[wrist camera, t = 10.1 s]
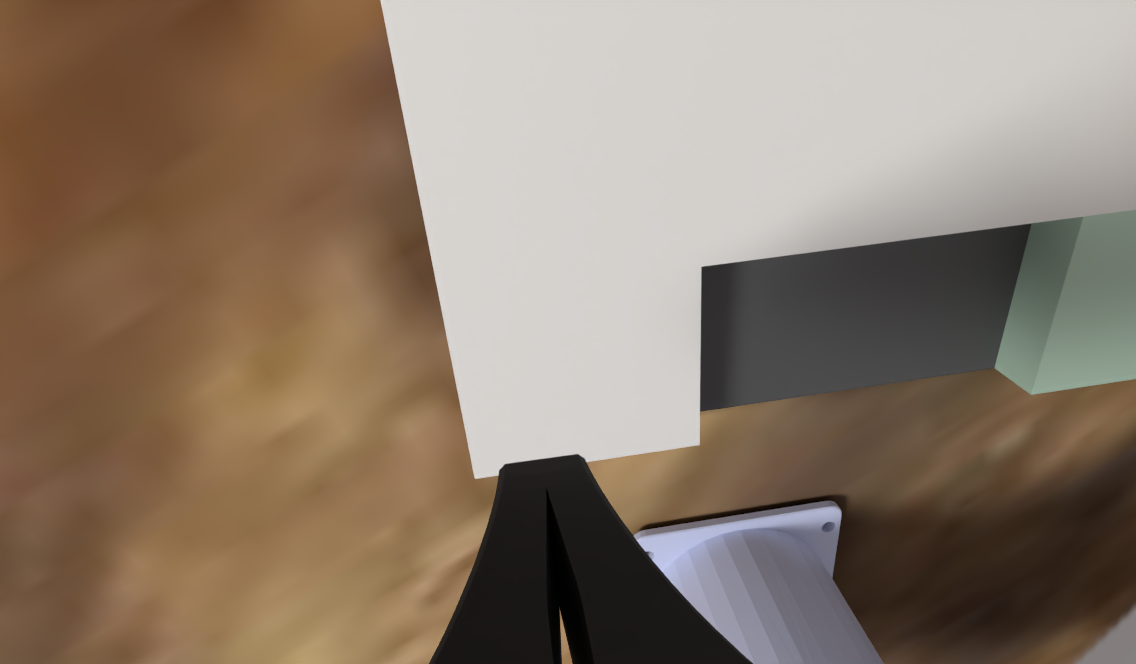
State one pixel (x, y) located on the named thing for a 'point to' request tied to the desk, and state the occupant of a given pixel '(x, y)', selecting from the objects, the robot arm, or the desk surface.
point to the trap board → (764, 203)
